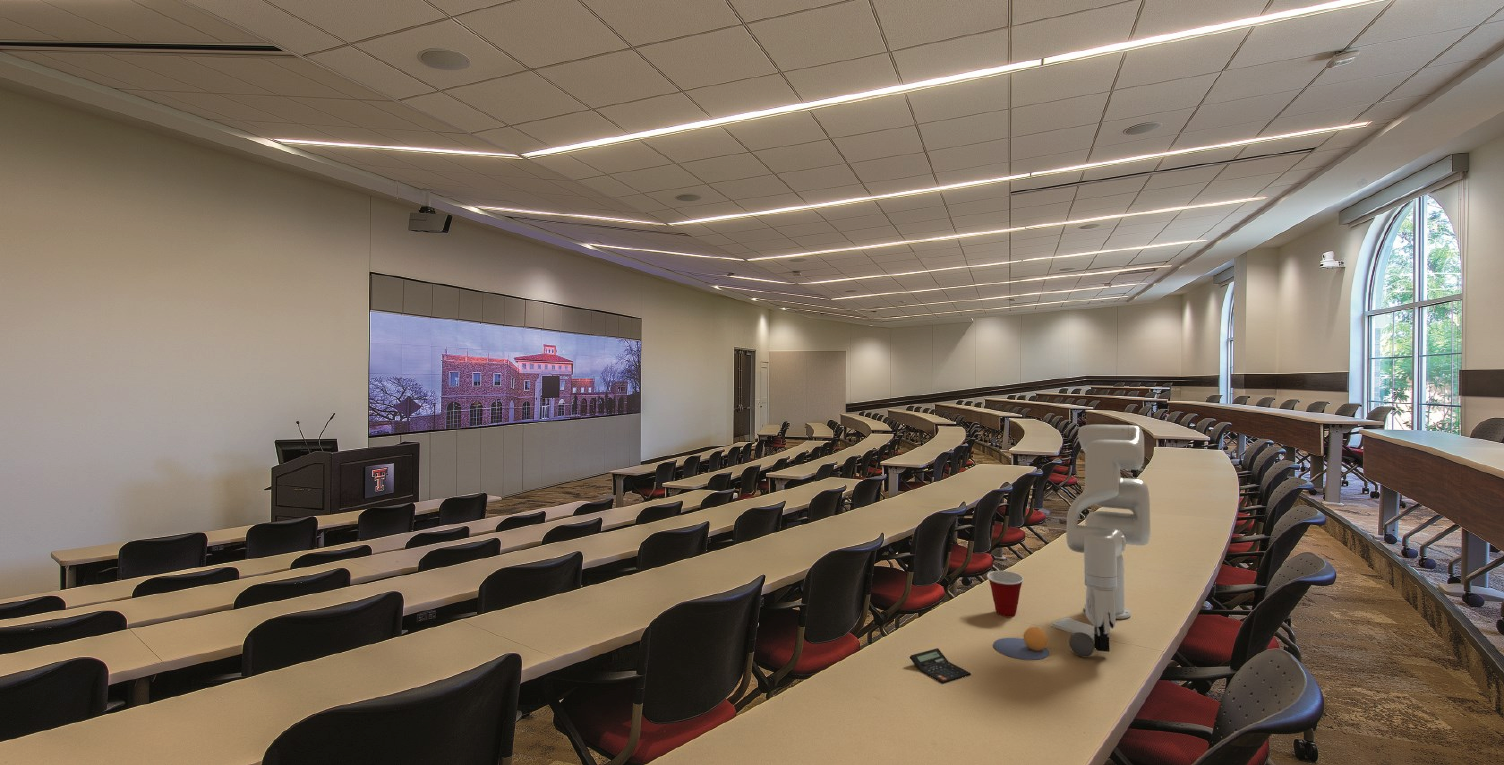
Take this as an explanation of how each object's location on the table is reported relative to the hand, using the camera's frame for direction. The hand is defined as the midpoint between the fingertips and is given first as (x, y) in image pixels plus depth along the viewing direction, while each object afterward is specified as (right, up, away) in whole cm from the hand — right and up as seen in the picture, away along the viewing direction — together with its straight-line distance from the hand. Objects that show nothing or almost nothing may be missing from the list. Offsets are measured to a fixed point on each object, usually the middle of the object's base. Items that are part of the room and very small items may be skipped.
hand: (1101, 650), depth 164 cm
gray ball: (-5, +1, 0) cm, 6 cm away
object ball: (-16, +1, +4) cm, 16 cm away
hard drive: (+3, -3, +18) cm, 18 cm away
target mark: (-19, -2, +5) cm, 20 cm away
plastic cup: (-13, -2, +31) cm, 34 cm away
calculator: (-45, -3, -7) cm, 46 cm away
